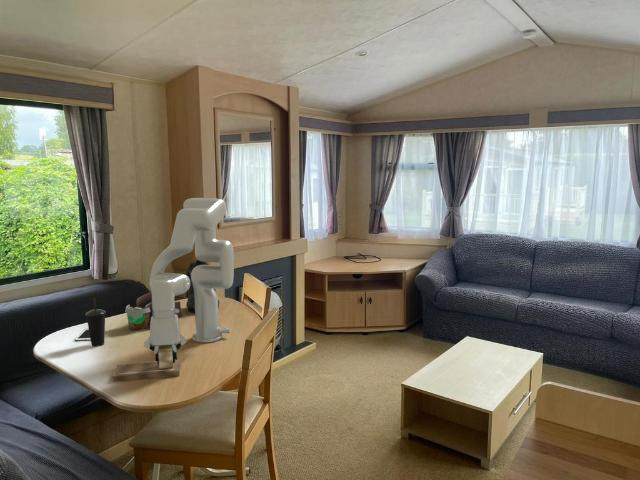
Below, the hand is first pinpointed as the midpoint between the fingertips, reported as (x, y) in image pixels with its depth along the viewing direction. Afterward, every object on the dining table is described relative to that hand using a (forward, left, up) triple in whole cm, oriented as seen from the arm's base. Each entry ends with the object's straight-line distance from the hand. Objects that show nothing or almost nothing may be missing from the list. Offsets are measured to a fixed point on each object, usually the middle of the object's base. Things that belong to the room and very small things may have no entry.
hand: (166, 361), depth 179 cm
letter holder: (+7, -60, -4) cm, 60 cm away
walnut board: (+6, 0, -4) cm, 7 cm away
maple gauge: (0, 0, -1) cm, 1 cm away
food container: (+17, -51, -4) cm, 53 cm away
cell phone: (+35, -47, -4) cm, 59 cm away
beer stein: (-12, -76, -4) cm, 77 cm away
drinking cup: (+29, -34, -4) cm, 45 cm away
